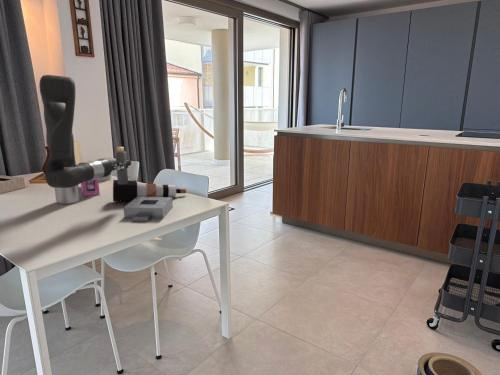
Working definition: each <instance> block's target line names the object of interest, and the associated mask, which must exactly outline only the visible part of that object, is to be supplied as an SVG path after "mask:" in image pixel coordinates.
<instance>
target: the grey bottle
mask: <svg viewBox="0 0 500 375" xmlns="http://www.w3.org/2000/svg"><path fill="white" fill-rule="evenodd" d="M114 153H115V160H116V161H120V162H123V161H128V159H127V151H125V147H124V146H117V147H116V151H115V152H114ZM117 164H118V163H117ZM128 173H129V172H128V168H127V169H125V170H123V171H121V170H116V175H117V177H116V178H117V179H116V180H118V184H121V185H123V184H128V180H129V174H128Z"/></svg>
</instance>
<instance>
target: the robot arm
mask: <svg viewBox="0 0 500 375" xmlns="http://www.w3.org/2000/svg"><path fill="white" fill-rule="evenodd" d="M39 93H40V97H41V102H42V104H43V116H44V124H45V129H46V130H45V132H46V134H45V138H46V141H45V142H46V146H47V148H48V150H49V157H48V160H47V164H46V168H45V173H44V179H45V181H46V184H47V185H48V186H49V187H50V188H54V194H55V202H56V203H57V204H61V205H69V204H75V203H79V202H80V201H81V198H80V197H81V195H80V188H79V185H81V183H82V182H86V181H90V180H96V179H99V178H103V177H106V176H109V175H110V174H111V175H112V172H117V170H121V171H123V170H125V169H127V170H128V169H129V167H130V166H132V161H131V160H128V159H127V161H123V162H120V161H116V159H115V160H114V159H113V160H109V159H106V158H100V159H94V160H93V159H92V160H89V161H86V163H85V162H81V163H82V164H79V163H78V164H77V163H76V155H75V142H74V134H73V126H74V120H75V119H74V118H75V106H76V83H75V81H74V78H72V77H70V76H61V75H53V74H44V75H42V76H41V77H40V79H39ZM64 104H65V105H64ZM117 163H118V164H117Z"/></svg>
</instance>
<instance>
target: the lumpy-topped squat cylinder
mask: <svg viewBox="0 0 500 375" xmlns="http://www.w3.org/2000/svg"><path fill="white" fill-rule="evenodd" d="M107 180H108V181H111V180H112V173H111V174H110V175H109V176H106V177H103V178H99V179H98V181H99V182H106V181H107ZM108 181H107V182H108Z"/></svg>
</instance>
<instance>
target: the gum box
mask: <svg viewBox="0 0 500 375" xmlns="http://www.w3.org/2000/svg"><path fill="white" fill-rule="evenodd" d="M86 162H87V161H86ZM86 162H84V163H86ZM82 163H83V162H78V164H82ZM80 187H81V192H82V196H83V197H91V196H98V195H99V196H100V184H99V182H98V179H96V180H90V181H86V182H82V183H80Z"/></svg>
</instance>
